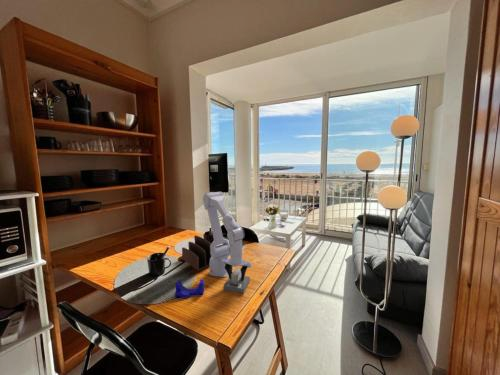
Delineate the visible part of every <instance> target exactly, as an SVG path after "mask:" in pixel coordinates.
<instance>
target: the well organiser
mask: <svg viewBox="0 0 500 375" xmlns="http://www.w3.org/2000/svg"><path fill="white" fill-rule="evenodd" d="M250 279H251V278H250V276H246V275H245V276H244V280H243V281H242V282H241V284H240V286H239V287H238V286H232V279H231V280H230V278H229V277H227V279H226V280H225V282H224V283H223V287H222V288H223V292H224V291H226V292H231V293H237V294H245V292H246V290H247V288H248V286H249V283H250V281H251V280H250Z"/></svg>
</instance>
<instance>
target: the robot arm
mask: <svg viewBox="0 0 500 375" xmlns="http://www.w3.org/2000/svg"><path fill="white" fill-rule="evenodd" d="M202 202H203V206H204V209H205V210H206V211H207V214H208V219H209V224H210V228H211V229H210V230H211V231H212V238H213V241H212V242H210V243H211V245H210V253H211V256H212V257H211V258H210V262H209V265H210V266H209V274H208V275H209V276H215V277H220V278H226V277H227V276H228V278H230V280H231V274H232V273H233V268H237V267H241V268H240V269H241V281H243V280H244V276H246V272H247V270H248V268H249V269H251V268H252V265H253V264H252V261H248V260H245V259H243V239H244V238H245V230H244V228H243V227H241V226H240V225H239V224H238V222H236V219H235V218H234V216H233V215H232V214H229V211H228V209H227V207H226V204H225V195H224V193H223V192H222V191H216V192H209V193H207V192H205V193H204V194H203V196H202ZM218 213H219V214H220V216H221V217H222V219H221V221H220V218H219V214H218ZM220 222H222V224H223V226H224V228H225V229H226V231H227V234H226V236H227V239H226V238H224V234H223V232H222V227H221V223H220ZM229 257H230V258H229Z"/></svg>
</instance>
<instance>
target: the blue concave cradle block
mask: <svg viewBox="0 0 500 375" xmlns="http://www.w3.org/2000/svg"><path fill="white" fill-rule="evenodd" d="M204 294H205V280H204V279H200V280H199V284H198V285H197V286H196V287H194V288H187V287H186V286H184V285H183V284H182V280H176V283H175V291H174V298H175V300H179V299H190V296H191V297H193V296H204Z"/></svg>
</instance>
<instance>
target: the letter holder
mask: <svg viewBox="0 0 500 375" xmlns="http://www.w3.org/2000/svg"><path fill="white" fill-rule="evenodd" d="M211 243H212V242H210V241H209V240H207V239H205V238H204V237H202V236H199V235H196V234H195V235H194V242H193V241H188V244H187V246H188V248H187V247H182V248H181V258H182V260H183V261H185V262H186V263H187V264H188V265H190V266H191V267H192V268H194V269H196V270H197V271H202V270H203V269H206V268H210V265H209V262H210V258H211V257H212V256H211V253H210V245H211Z"/></svg>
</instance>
